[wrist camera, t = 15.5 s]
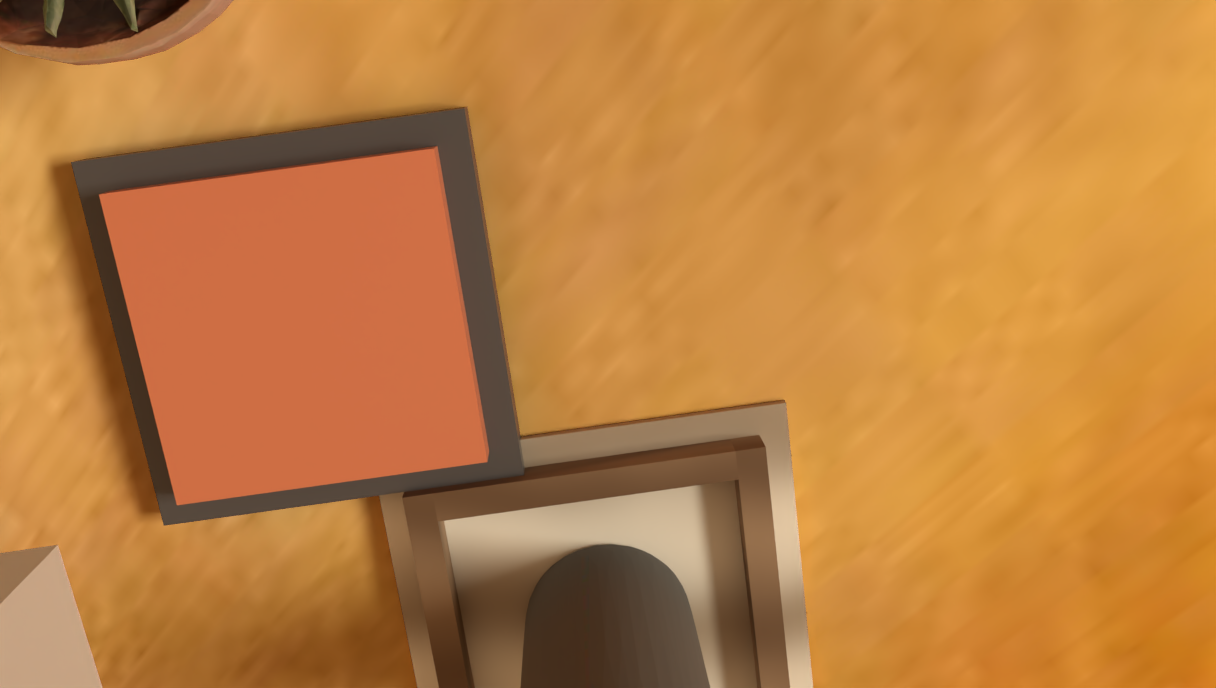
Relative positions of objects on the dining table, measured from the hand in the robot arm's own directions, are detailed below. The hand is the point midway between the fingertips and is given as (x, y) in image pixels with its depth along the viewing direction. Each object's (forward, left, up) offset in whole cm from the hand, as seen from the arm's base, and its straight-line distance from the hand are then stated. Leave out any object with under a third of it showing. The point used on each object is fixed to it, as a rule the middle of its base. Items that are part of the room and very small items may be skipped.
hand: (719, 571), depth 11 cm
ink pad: (+2, -10, -25) cm, 27 cm away
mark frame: (+14, -2, -25) cm, 29 cm away
